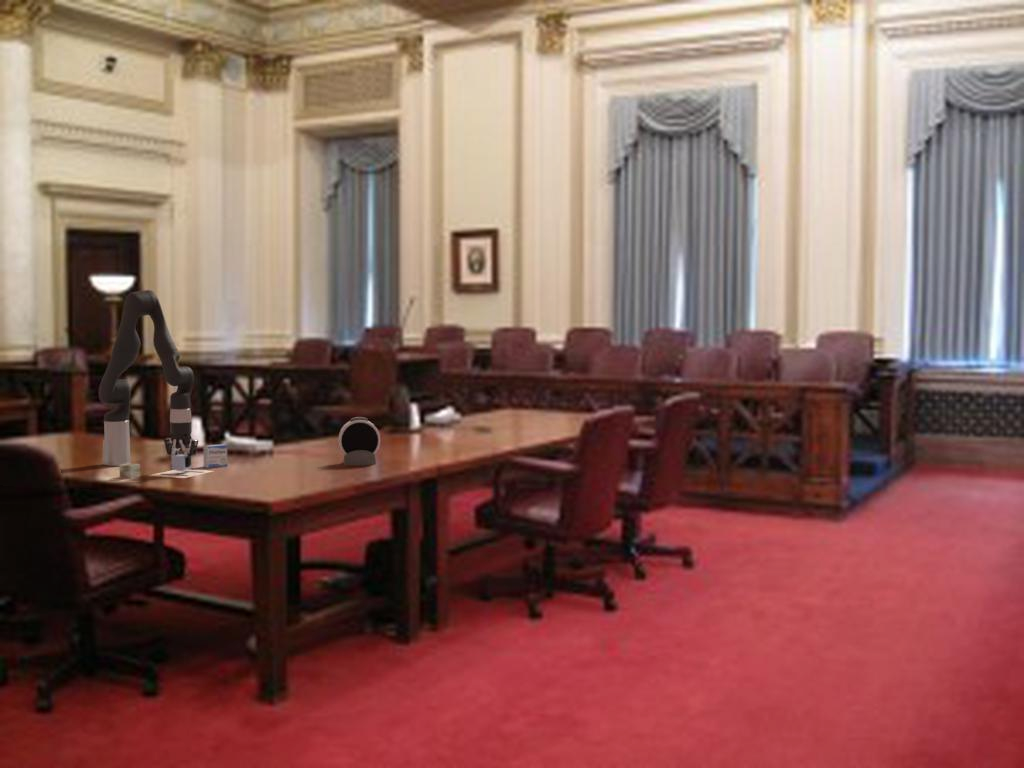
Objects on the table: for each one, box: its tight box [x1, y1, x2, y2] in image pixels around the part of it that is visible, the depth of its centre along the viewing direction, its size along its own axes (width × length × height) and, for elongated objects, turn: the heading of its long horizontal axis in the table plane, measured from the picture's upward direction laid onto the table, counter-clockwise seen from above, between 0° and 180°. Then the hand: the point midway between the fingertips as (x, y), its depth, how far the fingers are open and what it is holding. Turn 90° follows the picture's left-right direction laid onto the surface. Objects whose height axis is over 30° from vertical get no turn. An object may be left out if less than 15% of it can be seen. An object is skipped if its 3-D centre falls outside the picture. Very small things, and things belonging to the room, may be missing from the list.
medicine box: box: [202, 443, 228, 469], centre depth 447 cm, size 8×4×9 cm, turn 126°
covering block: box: [118, 462, 141, 479], centre depth 422 cm, size 5×5×5 cm
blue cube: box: [170, 453, 192, 470], centre depth 430 cm, size 5×5×5 cm
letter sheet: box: [148, 468, 214, 479], centre depth 430 cm, size 16×18×1 cm
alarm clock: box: [338, 416, 381, 466], centre depth 457 cm, size 16×10×18 cm, turn 101°
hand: (181, 466), depth 430 cm, fingers closed on blue cube, 4 cm apart
